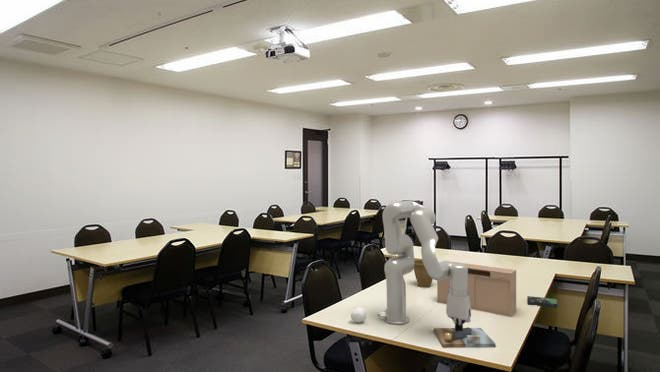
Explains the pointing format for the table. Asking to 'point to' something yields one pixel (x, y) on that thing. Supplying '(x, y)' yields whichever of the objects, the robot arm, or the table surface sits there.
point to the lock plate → (465, 338)
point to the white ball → (358, 314)
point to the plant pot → (422, 274)
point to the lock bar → (457, 334)
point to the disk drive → (542, 301)
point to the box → (486, 289)
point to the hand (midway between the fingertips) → (458, 332)
